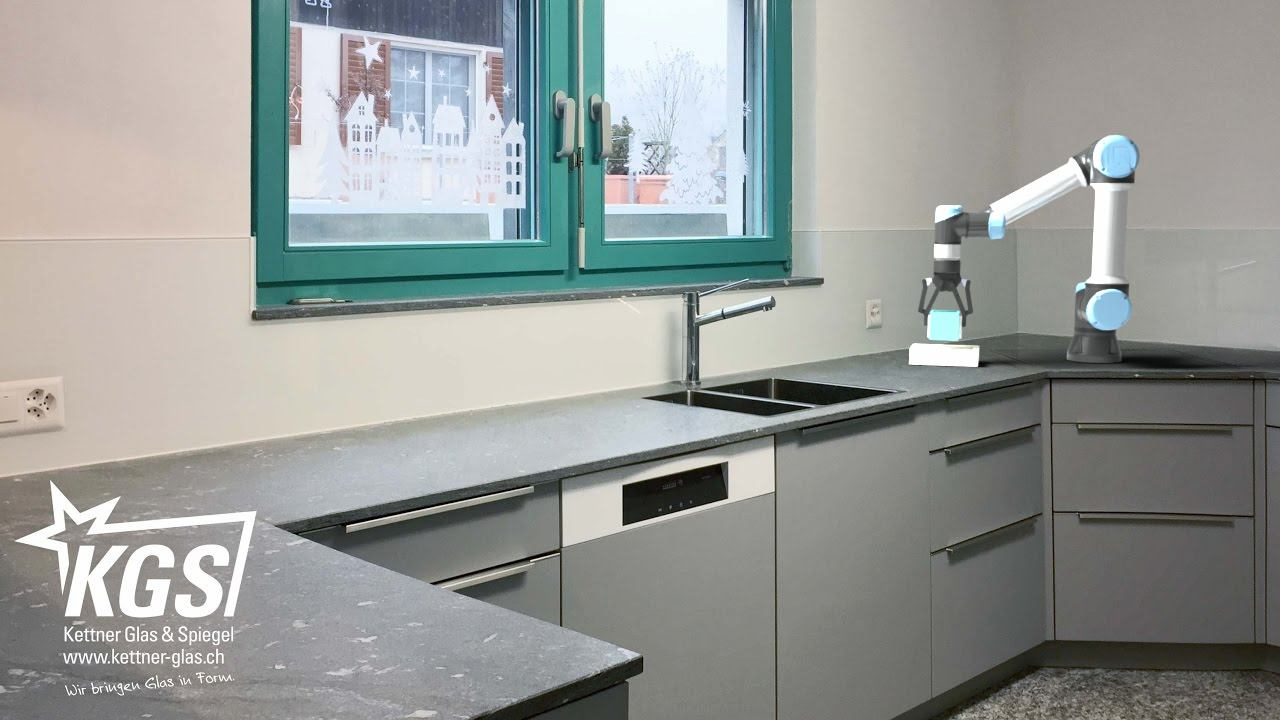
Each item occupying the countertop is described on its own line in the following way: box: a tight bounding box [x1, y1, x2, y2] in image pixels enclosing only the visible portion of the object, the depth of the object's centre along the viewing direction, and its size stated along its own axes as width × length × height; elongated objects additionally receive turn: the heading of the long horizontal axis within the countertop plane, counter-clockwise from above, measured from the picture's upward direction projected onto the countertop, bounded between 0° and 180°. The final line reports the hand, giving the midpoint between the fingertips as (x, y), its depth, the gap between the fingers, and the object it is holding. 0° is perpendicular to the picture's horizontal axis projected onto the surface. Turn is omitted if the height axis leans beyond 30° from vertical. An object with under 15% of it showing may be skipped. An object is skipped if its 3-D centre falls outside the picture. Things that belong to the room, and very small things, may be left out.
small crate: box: [928, 309, 961, 342], centre depth 351 cm, size 8×8×8 cm
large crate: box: [908, 343, 980, 368], centre depth 352 cm, size 19×14×4 cm
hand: (944, 337), depth 351 cm, fingers closed on small crate, 8 cm apart
